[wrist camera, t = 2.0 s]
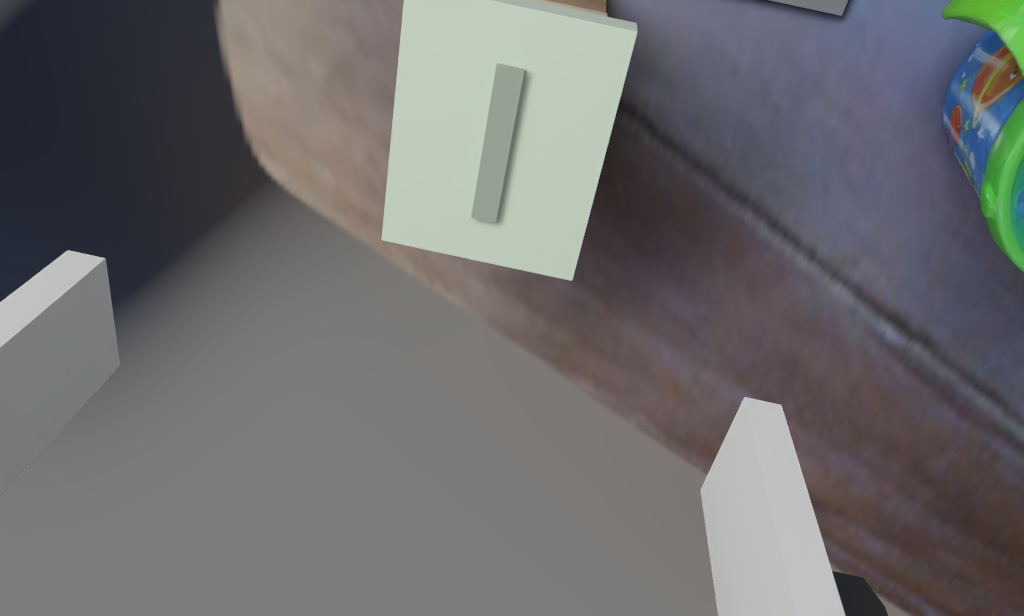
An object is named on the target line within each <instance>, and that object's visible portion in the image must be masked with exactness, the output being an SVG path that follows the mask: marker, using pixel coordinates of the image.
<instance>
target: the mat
mask: <svg viewBox="0 0 1024 616" xmlns="http://www.w3.org/2000/svg"><path fill="white" fill-rule="evenodd" d="M770 1H775V2H779V3H784V4H789V5H793V6H798V7H803V8H807V9H812V10H817V11H821V12H826V13H831V14H835V15H840V16H842V14H843V12H844V9H845V7H846V4H847V2H848V0H770Z"/></svg>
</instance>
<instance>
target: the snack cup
mask: <svg viewBox="0 0 1024 616" xmlns="http://www.w3.org/2000/svg"><path fill="white" fill-rule="evenodd" d="M942 17H943V18H944V19H957V20H961V21H965V22H969V23H972V24H976V25H979V26H981V27H984V28H987V29H991V31H989V32H987V33H986V34H985V35H984V36H983V37H982V38H981V39H980V40H979V42H977V43H976V44H975V45H974V48H973V50H972V51H971V52H970V53H969V54H968V55H967V57H966V58H965V59H964V61H963V62H962V64H961V65H960V67H959V68H958V70H957V71H956V72H955V74H954V76H953V77H952V79H951V81H950V83H949V86H948V89H947V94H946V98H945V103H944V106H943V108H942V110H941V113H942V122H943V126H944V129H945V132H946V135H947V138H948V142H949V144H950V146H951V148H952V150H953V152H954V154H955V156H956V158H957V159H958V161H959V163H960V165H961V166H962V168H963V170H964V172H965V174H966V175H967V177H968V179H969V181H970V183H971V184H972V186H973V188H974V189H975V191H976V193H977V195H978V196H979V198H980V206H981V211H982V213H983V215H984V216H985V219H986V222H987V225H988V227H989V230H990V232H991V235H992V237H993V239H994V241H995V242H996V244H997V245H998V247H999V248H1000V249H1001V251H1002V252H1003V253H1004V254H1005V255H1006V256H1007V258H1008V259H1009V260H1010V261H1011V262H1012V263H1013V264H1014V265H1015V266H1016V267H1018V268H1019V269H1020V270H1021V271H1022V272H1024V0H952V1H951V2H950V3H949V4H948V5H947V6H946V7H945V9H944V10H943V12H942Z"/></svg>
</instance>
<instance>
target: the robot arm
mask: <svg viewBox="0 0 1024 616" xmlns="http://www.w3.org/2000/svg"><path fill="white" fill-rule="evenodd" d="M119 366H120V363H119V355H118V348H117V340H116V333H115V325H114V318H113V311H112V304H111V296H110V289H109V281H108V274H107V266H106V259H105V258H101V257H96V256H92V255H87V254H83V253H78V252H74V251H66V252H65V253H64V254H62V255H61V256H60V257H59V258H57V259H56V260H55V261H53V262H52V263H51V264H49V265H48V266H47V267H46V268H44V269H43V270H42V271H40V272H39V273H38V274H37V275H35V276H34V277H33V278H31V279H30V280H29V281H28V282H26V283H25V284H24V285H22V286H21V287H20V288H19V289H17V290H16V291H15V292H13V293H12V294H11V295H9V296H8V297H7V298H6V299H4V300H3V301H2V302H0V496H1V494H2V493H3V492H4V491H5V490H6V489H7V488H8V487H9V486H10V485H11V484H12V483H13V481H14V480H15V479H16V478H17V477H18V476H19V475H20V474H21V473H22V472H23V471H24V469H25V468H26V467H27V466H28V465H29V464H30V463H31V462H32V461H33V460H34V459H35V457H36V456H37V455H38V454H39V453H40V452H41V451H42V450H43V449H44V448H45V446H46V445H47V444H48V443H49V442H50V441H51V440H52V439H53V438H54V437H55V435H57V433H58V432H59V431H60V430H61V429H62V428H63V427H64V426H65V425H66V423H67V422H68V421H69V420H70V419H71V418H72V417H73V416H74V415H75V413H76V412H78V410H79V409H80V408H81V407H82V406H83V405H84V404H85V403H86V402H87V401H88V400H89V398H90V397H91V396H92V395H93V394H94V393H95V392H96V391H97V390H98V389H99V388H100V386H101V385H102V384H103V383H104V382H105V381H106V380H107V379H108V378H109V377H110V376H111V374H112V373H113V372H114V371H115V370H116V369H117V368H118V367H119ZM701 497H702V504H703V512H704V519H705V526H706V533H707V540H708V547H709V554H710V561H711V568H712V575H713V582H714V589H715V596H716V603H717V610H718V616H888V614H887V612H886V609H885V606H884V605H883V604H882V602H881V601H880V600H879V598H878V597H877V596H876V594H875V593H874V591H873V590H872V589H871V587H870V586H869V585H868V583H867V582H866V581H865V579H864V578H862V577H857V576H852V575H848V574H843V573H838V572H834V571H832V570H831V567H830V563H829V560H828V557H827V553H826V550H825V547H824V544H823V540H822V537H821V534H820V530H819V527H818V524H817V521H816V517H815V514H814V511H813V507H812V504H811V501H810V498H809V494H808V491H807V488H806V484H805V481H804V478H803V474H802V471H801V468H800V465H799V461H798V458H797V455H796V451H795V448H794V445H793V442H792V438H791V435H790V432H789V428H788V425H787V422H786V419H785V415H784V412H783V409H782V405H779V404H775V403H770V402H765V401H761V400H756V399H752V398H747V397H744V399H743V401H742V403H741V405H740V407H739V410H738V412H737V414H736V416H735V418H734V420H733V422H732V424H731V427H730V429H729V431H728V433H727V435H726V437H725V439H724V441H723V444H722V446H721V448H720V450H719V452H718V454H717V456H716V458H715V461H714V463H713V465H712V467H711V469H710V471H709V473H708V475H707V478H706V480H705V482H704V484H703V486H702V488H701Z"/></svg>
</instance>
